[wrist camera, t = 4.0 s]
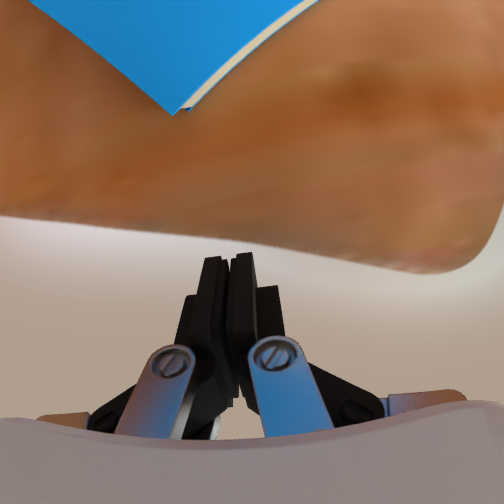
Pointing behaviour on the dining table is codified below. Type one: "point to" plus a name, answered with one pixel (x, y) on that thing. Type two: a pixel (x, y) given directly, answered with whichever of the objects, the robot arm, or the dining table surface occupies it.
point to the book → (174, 39)
